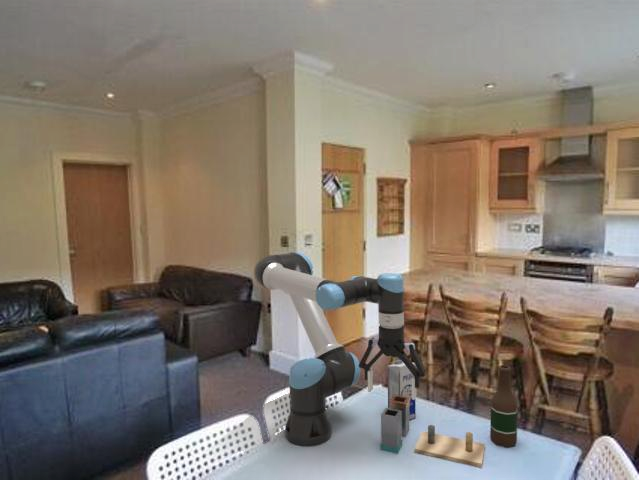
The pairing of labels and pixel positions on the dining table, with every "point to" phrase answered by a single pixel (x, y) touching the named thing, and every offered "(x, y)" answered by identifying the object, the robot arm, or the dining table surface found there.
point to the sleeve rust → (402, 405)
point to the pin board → (450, 447)
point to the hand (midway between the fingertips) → (391, 394)
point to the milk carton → (401, 384)
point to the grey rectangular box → (391, 430)
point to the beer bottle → (504, 411)
